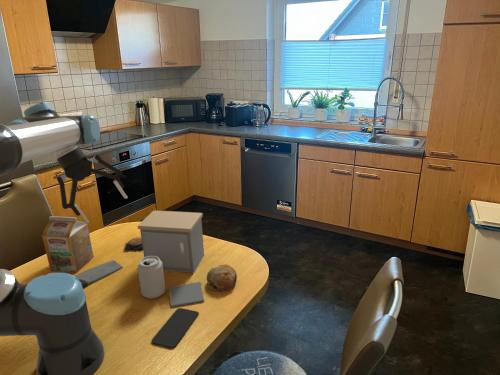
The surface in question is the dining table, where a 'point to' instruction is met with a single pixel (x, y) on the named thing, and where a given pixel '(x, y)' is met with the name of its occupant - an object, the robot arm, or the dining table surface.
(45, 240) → the milk carton
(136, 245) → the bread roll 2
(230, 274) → the bread roll
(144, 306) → the dining table surface
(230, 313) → the dining table surface
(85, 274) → the cleaver
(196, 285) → the mat
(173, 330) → the phone
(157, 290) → the can
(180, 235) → the cabinet
